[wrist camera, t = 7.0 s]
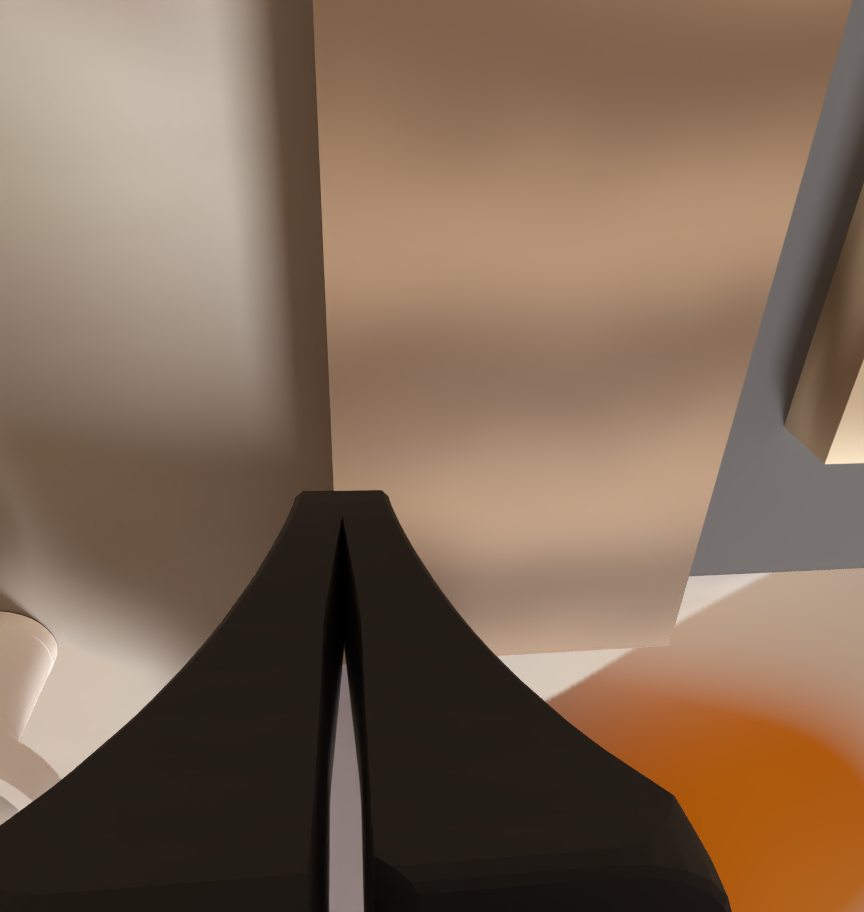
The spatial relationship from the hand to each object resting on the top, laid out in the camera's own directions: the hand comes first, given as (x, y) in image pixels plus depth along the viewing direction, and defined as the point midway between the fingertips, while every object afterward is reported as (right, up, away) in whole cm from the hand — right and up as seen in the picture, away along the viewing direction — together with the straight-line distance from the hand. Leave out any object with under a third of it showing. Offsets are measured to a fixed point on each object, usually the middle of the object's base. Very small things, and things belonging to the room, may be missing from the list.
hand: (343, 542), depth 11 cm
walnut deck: (+4, +5, +9) cm, 11 cm away
